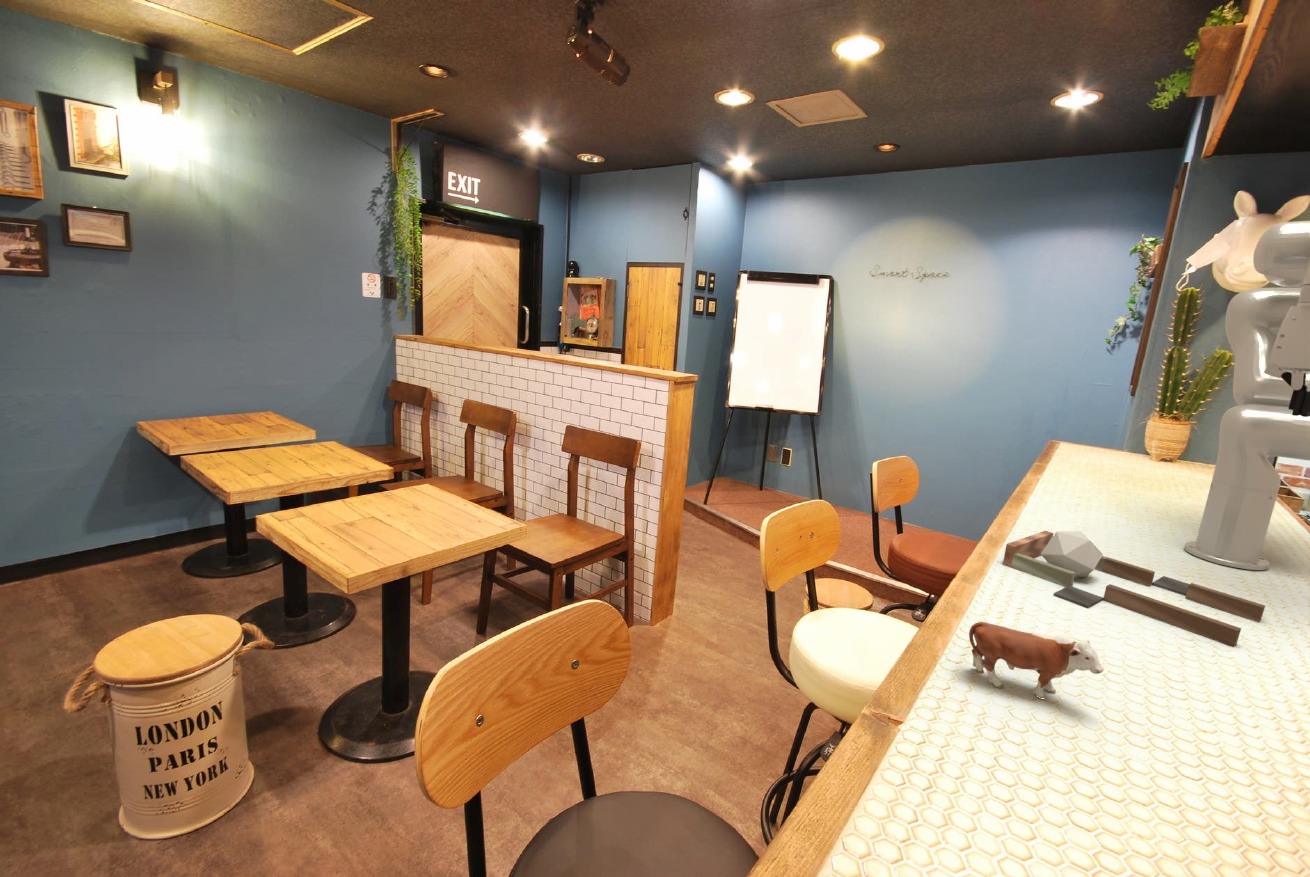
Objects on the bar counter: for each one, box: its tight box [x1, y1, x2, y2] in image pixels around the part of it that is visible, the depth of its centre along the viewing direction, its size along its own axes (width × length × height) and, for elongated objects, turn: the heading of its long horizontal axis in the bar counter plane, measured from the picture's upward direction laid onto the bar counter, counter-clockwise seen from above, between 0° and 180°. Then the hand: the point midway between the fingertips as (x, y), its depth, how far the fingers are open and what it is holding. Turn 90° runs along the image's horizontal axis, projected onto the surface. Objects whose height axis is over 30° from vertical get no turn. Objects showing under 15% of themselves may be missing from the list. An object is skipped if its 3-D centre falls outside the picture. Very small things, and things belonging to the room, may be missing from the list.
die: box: [1041, 530, 1104, 578], centre depth 106 cm, size 8×9×10 cm
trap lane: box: [1002, 530, 1266, 647], centre depth 101 cm, size 28×32×4 cm
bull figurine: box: [968, 621, 1104, 698], centre depth 70 cm, size 4×13×8 cm, turn 58°
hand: (1301, 415), depth 94 cm, fingers closed
